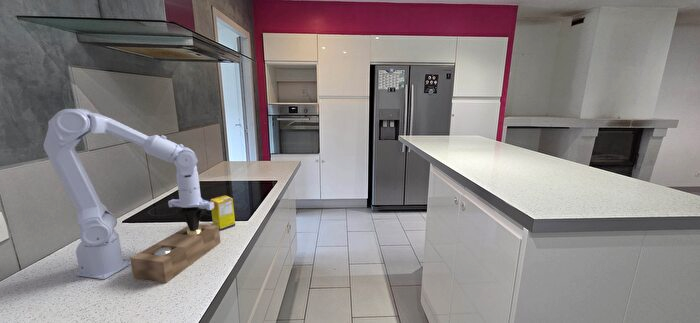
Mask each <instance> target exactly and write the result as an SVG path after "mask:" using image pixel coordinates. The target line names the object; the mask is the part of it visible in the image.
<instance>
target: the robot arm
mask: <svg viewBox="0 0 700 323" xmlns="http://www.w3.org/2000/svg"><path fill="white" fill-rule="evenodd" d="M47 124H48V128H47V132H46V135H45V139H44V142H43V149H44V152H45V154H46V155H47V157H48V159H49V161H50V163H51V165H52V166H53V168H54V171H55V173H56V174H57V176H58V178H59V180H60V182H61V183H62V184H61V185H62V186H63V187H64V190H65V192H66V194H67V195H68V197H69V200H70V201H71V204H72V205H73V207H74V209H75V211H76V213H77V215H76V216H77V225H78V226H79V230H80V231H79V235H78V236H79V239H80V241H81V242H80V243H79V244H78V245H77V246H76V250H75V255H76V259H77V264H78V269H79V271H78V272H77V273H76V276H79V277H84V278H86V277H87V278H91V279H93V278H94V279H98V280H100V279H101V280H105V279H107V278H109V277H110V276H112V275H114V274H116V273H118V272H120V271H121V270H123V269H125V268H126V267H129V266H131V260H124V258H123V253H122V246H121V242H120V237H119V233H118V232H116V231H115V227H116V226H117V224H118V219H117V217H116V216H115V215H114V214H113V213H112V212H110V211H109V210H108V208H107V206H106V205H105V204H104V203H102V202H101V199H100V198H99V195H98V194H97V192H96V190H95V187H94V186H93V183H92V181H91V179H90V177H89V175H88V173H87V171H86V169H85V166H84V165H83V163H82V161H81V158H80V156H79V154H78V152H77V150H76V147H77V145H78V144H79V143H80V142H81V140H82V139H83V137H85V136H87V134H90V133H91V134H110V135H111V136H114V137H117V138H120V139H122V140H125V141H127V142H131V143H133V144H136V145H138V146H140V147H142V148H143V150H144V152H145V154H147V155H150V156H152V157H155V158H158V159H160V160H162V161H165V162H167V163H173V164H174V166H175V167H176V175H175V177H176V183H177V189H178V190H177V191H178V192H177V193H178V197H179V198H177V199H175V198H173V199H171V200H168V201H167V202H168V207H169V208H174V207H175V208H176V207H177V208H181V209H180V210H178V214H179V215H180V216H181V217H182V218H183V220H184V221H185V223H186V226H188V227H189V229H190V231H195V230H196V229H198V227H199V224H200V221H201V216H202V215H203V211H204V210H207V211H211V209H213V208H214V202H210V201H209V200H205V199H203V198H202V197H201V196H202V195H201V188H200V187H201V186H200V178H199V177H200V176H199V172H198V166H197V164H198V158H197V155H196V153H195V152H194V151H193V150H192V149H191V148H189V146H188V147H186V146H184V145H183V144H182V143H180V144H178V143H176V142H174V141H171V140H170V139H169V140H168V139H167V136H165V135H163V134H161V136H160V135H157V134H154V135H151V136H149V135H146V134H144V133H143V132H140V131H138V130H136V129H134V128H131V127H130V126H128V125H125V124H123V123H122V122H119V121H117V120H116V119H113V118H110V117H108V116H105V115H103V114H101V113H97V112H93V111H91V110H89V109H85V108H79V107H78V108H64V109H62V110H59V111H57V112H56V113H55V115H53V116H52V117H51V119H49V120H48V122H47Z"/></svg>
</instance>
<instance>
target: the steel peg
mask: <svg viewBox="0 0 700 323" xmlns="http://www.w3.org/2000/svg"><path fill="white" fill-rule="evenodd" d="M170 251H171V248H170V247H164V248H160V249H158V250H156V251H155V252H154V255H159V256H163V255H165V254H167V253H168V252H170Z"/></svg>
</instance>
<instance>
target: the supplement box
mask: <svg viewBox="0 0 700 323" xmlns="http://www.w3.org/2000/svg"><path fill="white" fill-rule="evenodd" d="M209 202H214V208H213V209H211V210H210V211H211V219H212V225H214V226H219V232H220V231H223V230H226V229H229V228H231V227H235V226H236V220H235V219H236V218H235V208H234V199H233V198H232V197H230V196H228V195H221V196H217V197H215V198H214V197H213V198H211V199H210V201H209Z"/></svg>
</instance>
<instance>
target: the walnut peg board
mask: <svg viewBox="0 0 700 323" xmlns="http://www.w3.org/2000/svg"><path fill="white" fill-rule="evenodd" d="M199 227H201V230H202V232H200V233H199V234H197V235H187V230H188V229H189V227H188V225H186V226H185V227H183V228H182V229H180V230H178V231H176V232H174V233H173V234H170V235H169V236H167V237H166V238H164V239H162V240H160V241H158V242H157V243H154V244H152V245H151V246H149V247H148V248H146V249H144V250H142V251H140V252H139V253H137V254H135V255H132V256H131V257H130V258H129V259H130V260H129V261H130V262H131V264H130V266H131V271H132V276H133V279H134V280H139V281H140V280H141V281H148V282H155V283H162V284H167V283H168V282H170V281H171V280H173V279H174V278H175V277H177V276H178V275H179V274H181V273H182V272H183V271H185V270H186V269H187V268H188V267H190V266H191V265H193V264H194V263H196V262H197V261H198V260H200V259H201V258H202V257H204V256H205V255H206V254H207V253H210V251H212V250H213V249H215V247H217V246H218V245H220V244H221V234H220V230H219V226H214V225H213V224H212V225H211V224H201V223H199ZM164 247H170V248H171V251H170V252H168V253H167V254H165V255H163V256H159V255H154V252H155V251H156V250H158V249H160V248H164Z"/></svg>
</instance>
